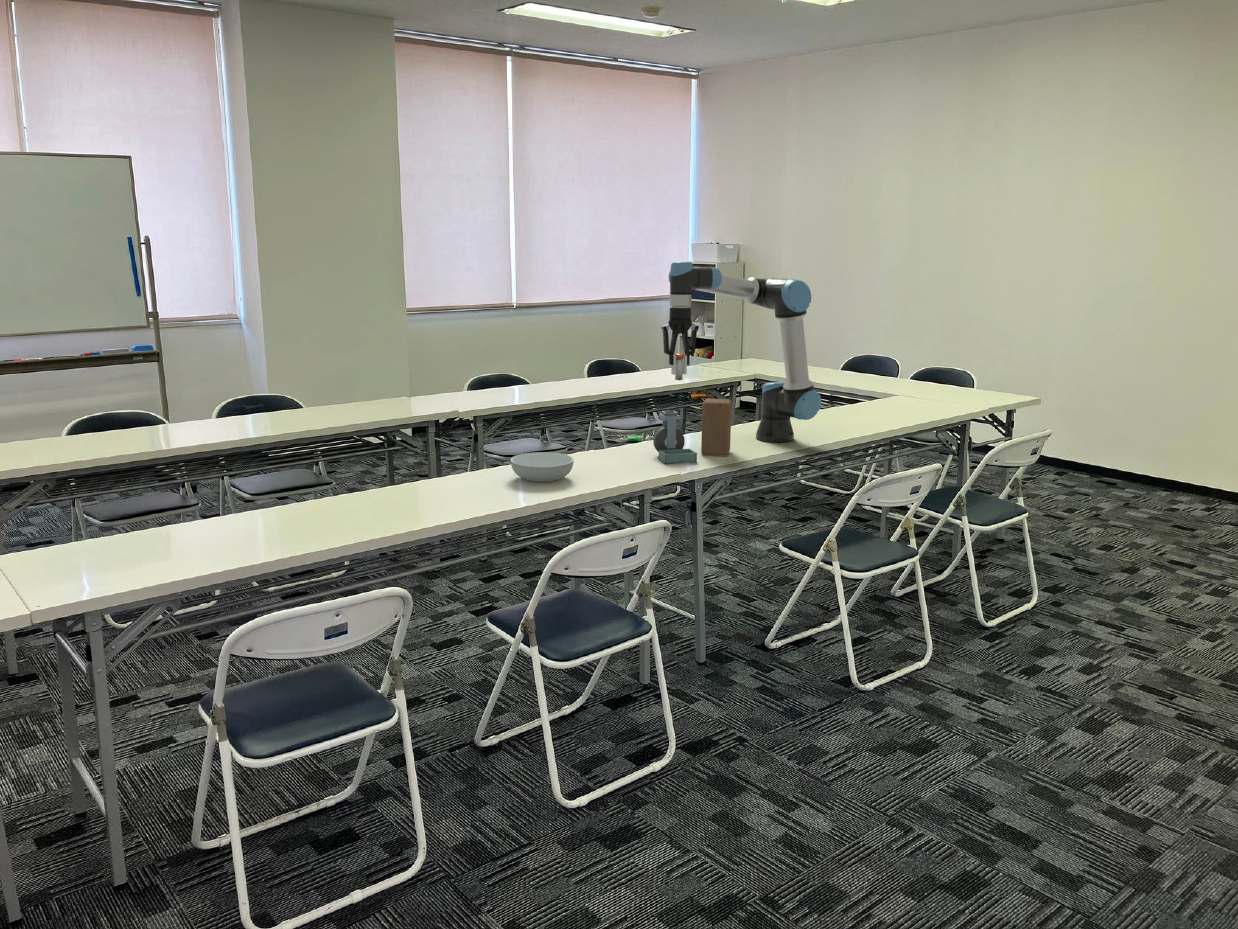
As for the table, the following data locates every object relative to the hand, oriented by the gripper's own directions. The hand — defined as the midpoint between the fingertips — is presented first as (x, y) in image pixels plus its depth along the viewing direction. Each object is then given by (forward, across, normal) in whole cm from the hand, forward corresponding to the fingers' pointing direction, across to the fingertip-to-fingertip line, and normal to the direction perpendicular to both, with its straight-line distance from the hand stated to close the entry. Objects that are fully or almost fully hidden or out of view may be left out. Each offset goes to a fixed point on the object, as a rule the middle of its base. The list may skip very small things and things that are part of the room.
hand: (678, 373), depth 328 cm
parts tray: (+32, 0, 0) cm, 32 cm away
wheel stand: (+32, 0, -9) cm, 33 cm away
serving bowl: (+32, +52, +15) cm, 63 cm away
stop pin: (+2, 0, 0) cm, 2 cm away
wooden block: (+32, -18, -9) cm, 38 cm away
